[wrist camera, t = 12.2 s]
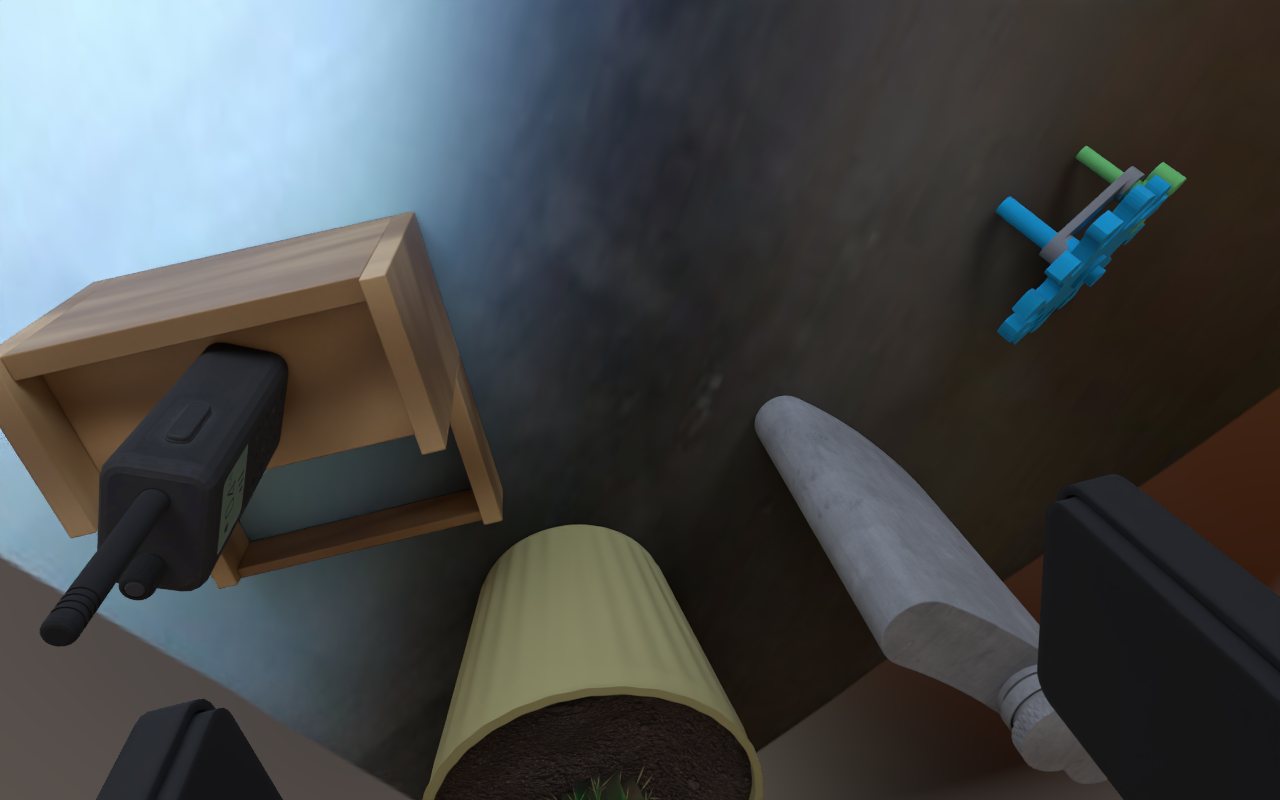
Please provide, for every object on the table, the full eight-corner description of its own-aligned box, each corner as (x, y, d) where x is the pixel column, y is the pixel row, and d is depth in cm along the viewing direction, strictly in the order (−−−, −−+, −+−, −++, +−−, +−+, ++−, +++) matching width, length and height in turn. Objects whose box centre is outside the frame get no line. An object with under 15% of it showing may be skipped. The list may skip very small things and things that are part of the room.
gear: (1005, 373, 44) (1039, 317, 35) (925, 302, 47) (937, 231, 37) (1159, 234, 44) (1235, 139, 34) (1070, 169, 46) (1120, 62, 37)
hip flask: (743, 426, 46) (893, 695, 28) (792, 373, 45) (981, 618, 27) (917, 556, 52) (1131, 845, 34) (964, 512, 51) (1210, 787, 33)
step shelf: (92, 282, 37) (-38, 369, 28) (414, 210, 38) (385, 273, 29) (236, 554, 44) (168, 692, 35) (503, 490, 45) (502, 609, 36)
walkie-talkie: (279, 453, 33) (126, 750, 20) (190, 438, 33) (-29, 737, 19) (293, 348, 32) (135, 598, 18) (199, 329, 31) (-38, 577, 17)
